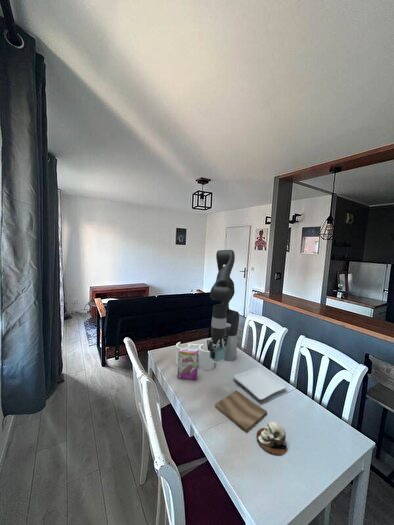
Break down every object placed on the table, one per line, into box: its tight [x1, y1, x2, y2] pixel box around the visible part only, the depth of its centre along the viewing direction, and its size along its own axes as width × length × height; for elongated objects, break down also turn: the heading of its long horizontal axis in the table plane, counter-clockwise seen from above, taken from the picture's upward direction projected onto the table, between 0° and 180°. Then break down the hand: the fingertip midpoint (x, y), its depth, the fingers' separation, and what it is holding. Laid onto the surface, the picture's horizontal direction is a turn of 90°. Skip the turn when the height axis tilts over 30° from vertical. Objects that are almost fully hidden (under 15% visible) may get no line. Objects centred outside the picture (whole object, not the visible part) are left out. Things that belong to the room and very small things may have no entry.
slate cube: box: [209, 345, 225, 363], centre depth 115 cm, size 6×6×6 cm
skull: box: [256, 421, 289, 456], centre depth 89 cm, size 12×10×10 cm
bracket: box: [174, 341, 215, 371], centre depth 140 cm, size 25×10×12 cm, turn 83°
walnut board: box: [214, 389, 268, 433], centre depth 104 cm, size 16×18×2 cm
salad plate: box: [232, 366, 288, 401], centre depth 123 cm, size 21×21×3 cm
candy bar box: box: [177, 347, 199, 381], centre depth 127 cm, size 11×5×16 cm, turn 84°
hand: (216, 356), depth 115 cm, fingers closed on slate cube, 5 cm apart
